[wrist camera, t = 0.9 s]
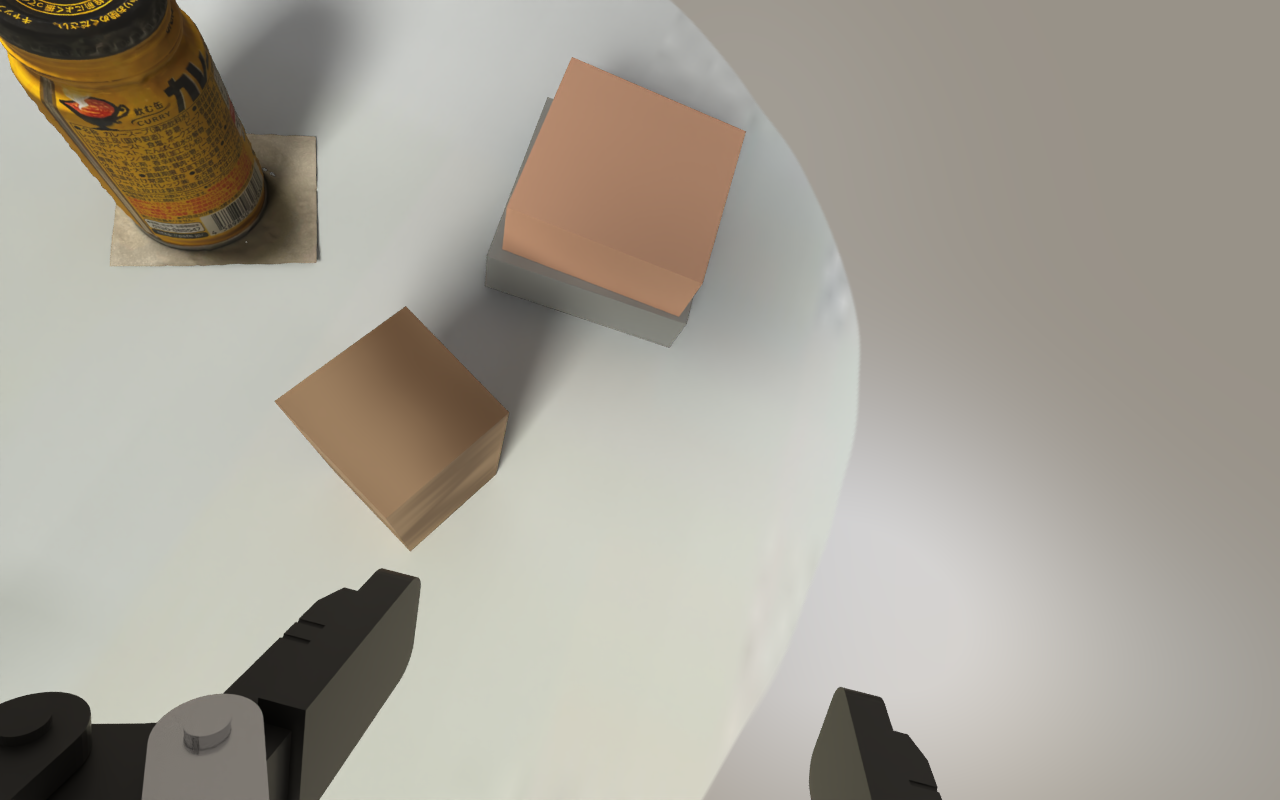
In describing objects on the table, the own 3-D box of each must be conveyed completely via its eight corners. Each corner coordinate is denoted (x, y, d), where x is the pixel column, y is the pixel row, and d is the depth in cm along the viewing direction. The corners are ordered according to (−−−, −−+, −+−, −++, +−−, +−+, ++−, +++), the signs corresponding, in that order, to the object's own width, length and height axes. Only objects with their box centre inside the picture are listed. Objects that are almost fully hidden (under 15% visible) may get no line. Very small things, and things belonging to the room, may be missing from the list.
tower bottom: (484, 290, 35) (486, 256, 32) (540, 141, 38) (547, 97, 35) (666, 351, 36) (686, 324, 33) (704, 202, 40) (725, 165, 37)
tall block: (410, 551, 30) (385, 518, 20) (333, 469, 30) (274, 400, 21) (496, 474, 32) (508, 412, 22) (422, 398, 32) (405, 306, 23)
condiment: (123, 132, 32) (-54, -124, 21) (316, 138, 35) (246, -89, 24) (112, 269, 30) (-91, 64, 19) (318, 266, 33) (242, 82, 22)
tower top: (502, 249, 32) (506, 207, 29) (561, 108, 35) (571, 57, 32) (679, 317, 33) (702, 283, 30) (720, 175, 36) (745, 131, 33)
